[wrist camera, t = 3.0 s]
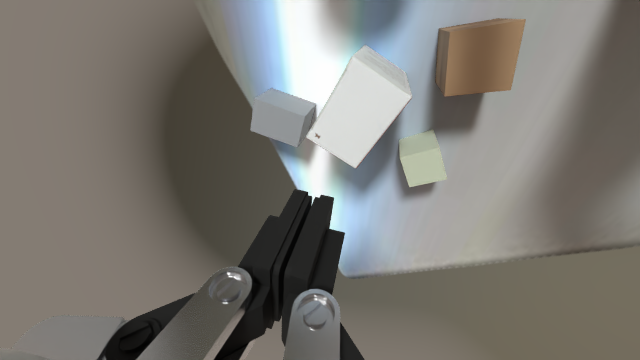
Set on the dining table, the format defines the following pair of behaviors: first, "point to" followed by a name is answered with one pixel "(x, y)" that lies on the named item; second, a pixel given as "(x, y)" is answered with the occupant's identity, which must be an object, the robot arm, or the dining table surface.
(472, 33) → the walnut block
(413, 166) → the sage block
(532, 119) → the dining table surface
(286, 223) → the robot arm
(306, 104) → the slate block
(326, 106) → the small box
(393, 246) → the dining table surface
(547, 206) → the dining table surface
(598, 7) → the dining table surface
